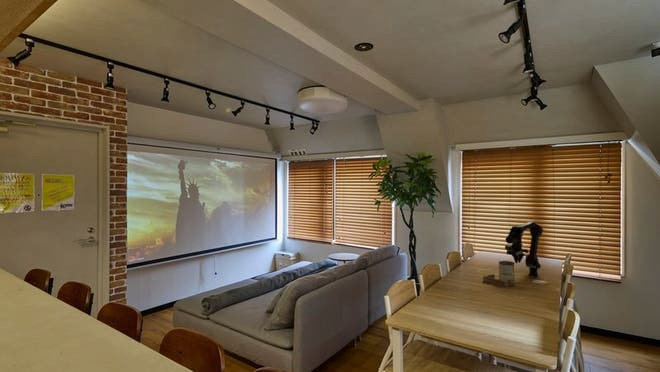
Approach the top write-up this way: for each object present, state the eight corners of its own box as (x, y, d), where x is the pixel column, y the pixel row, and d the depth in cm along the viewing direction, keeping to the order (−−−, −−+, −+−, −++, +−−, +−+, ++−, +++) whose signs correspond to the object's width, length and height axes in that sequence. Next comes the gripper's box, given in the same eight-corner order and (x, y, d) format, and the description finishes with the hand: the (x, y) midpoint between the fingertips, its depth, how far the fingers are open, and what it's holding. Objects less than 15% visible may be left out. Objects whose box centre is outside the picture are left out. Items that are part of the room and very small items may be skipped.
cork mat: (531, 280, 241) (531, 279, 241) (547, 282, 235) (547, 281, 236) (531, 283, 232) (531, 282, 232) (548, 285, 227) (548, 284, 227)
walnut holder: (493, 279, 244) (493, 274, 244) (513, 284, 230) (513, 279, 230) (483, 281, 239) (483, 276, 239) (504, 287, 225) (503, 281, 225)
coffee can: (496, 279, 245) (496, 260, 245) (510, 279, 244) (510, 260, 244) (502, 283, 235) (502, 263, 235) (517, 283, 234) (517, 264, 234)
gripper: (514, 240, 257) (515, 259, 257) (499, 242, 249) (500, 262, 248) (528, 242, 247) (529, 262, 247) (513, 244, 239) (514, 265, 239)
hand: (517, 262), depth 246 cm, fingers open, 3 cm apart
